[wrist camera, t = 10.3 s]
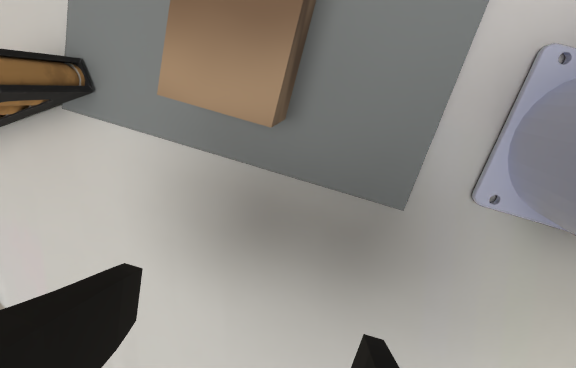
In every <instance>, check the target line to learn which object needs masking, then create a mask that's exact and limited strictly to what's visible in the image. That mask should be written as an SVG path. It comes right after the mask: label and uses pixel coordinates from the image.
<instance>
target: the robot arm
mask: <svg viewBox="0 0 576 368" xmlns="http://www.w3.org/2000/svg"><path fill="white" fill-rule="evenodd" d="M562 53H563V54H565V57H566V59H565V61H564V63H563V64H560V63H559V61H558V59H559V56H560V55H561V54H562ZM493 195H497V199H496V200H495V201H494V202H490V201H489V200H490V198H491V196H493ZM472 198H473V200H474V201H475V202H476V203H477V204H479V205H480V206H484V207H487V208H491V209H494V210H497V211H501V212H504V213H507V214H511V215H514V216H518V217H521V218H524V219H528V220H531V221H535V222H538V223H541V224H545V225H548V226H552V227H555V228H558V229H562V230H565V231H568V232H571V233H572V234H574V235H576V48H573V47H569V46H565V45H562V44H549V45H546V46H544V47H543V48H542V49H541V50H540V51H539V53H538V54H537V57H536V59H535V61H534V63H533V65H532V67H531V69H530V71H529V74H528V76H527V78H526V80H525V82H524V84H523V86H522V89H521V91H520V93H519V95H518V97H517V99H516V101H515V103H514V106H513V108H512V110H511V112H510V114H509V116H508V118H507V121H506V123H505V125H504V127H503V129H502V131H501V133H500V135H499V138H498V140H497V142H496V144H495V146H494V148H493V150H492V153H491V155H490V157H489V159H488V161H487V163H486V165H485V168H484V170H483V172H482V174H481V176H480V178H479V180H478V182H477V185H476V187H475V189H474V191H473V194H472ZM141 276H142V268H139V267H136V266H132V265H129V264H125V263H124V264H121V265H118V266H116V267H113V268H110V269H108V270H105V271H103V272H100V273H98V274H96V275H93V276H91V277H88V278H86V279H83V280H81V281H78V282H76V283H73V284H71V285H68V286H66V287H63V288H61V289H58V290H56V291H53V292H50V293H47V294H45V295H42V296H39V297H36V298H33V299H31V300H28V301H25V302H22V303H20V304H17V305H14V306H11V307H8V308H5V309H2V310H0V368H101V367H102V366H103V365H104V364H105V363H106V362H107V360H108V359H109V358H110V357H111V356H112V354H113V353H114V352H115V351H116V350H117V348H118V347H119V345H120V344H121V342H122V341H123V340H124V338H125V337H126V335H127V334H128V332H129V331H130V329H131V328H132V326H133V325H134V323H135V321H136V317H137V309H138V301H139V293H140V285H141ZM351 368H399V366H398V364H397V363H396V361H395V359H394V357H393V356H392V354H391V352H390V350H389V349H388V347H387V345H386V343H385V342H384V340H382V339H379V338H375V337H372V336H368V335H365V334H364V335H363V338H362V340H361V343H360V345H359V348H358V351H357V353H356V356H355V359H354V361H353V364H352V366H351Z"/></svg>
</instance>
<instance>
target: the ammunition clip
mask: <svg viewBox="0 0 576 368" xmlns="http://www.w3.org/2000/svg"><path fill="white" fill-rule="evenodd" d="M90 93H93V87H92V85H91V82H90V80H89V77H88V75H87V72H86V70H85V67H84V65H83V62H82V60H81V58H75V57H67V56H58V55H49V54H41V53H32V52H24V51H15V50H7V49H0V126H3V125H5V124H8V123H11V122H14V121H16V120H19V119H22V118H25V117H27V116H30V115H33V114H36V113H38V112H41V111H44V110H47V109H49V108H52V107H55V106H57V105H60V104H63V103H66V102H68V101H71V100H74V99H77V98H79V97H82V96H85V95H88V94H90Z"/></svg>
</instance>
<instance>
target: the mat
mask: <svg viewBox="0 0 576 368" xmlns="http://www.w3.org/2000/svg"><path fill="white" fill-rule="evenodd" d="M488 2H489V0H316V3H315V7H314V10H313V14H312V18H311V22H310V26H309V30H308V33H307V37H306V41H305V45H304V49H303V53H302V56H301V60H300V64H299V68H298V72H297V76H296V79H295V83H294V87H293V91H292V95H291V99H290V102H289V106H288V110H287V114H286V118H285V120H283V121H282V122H280V123H278V124H277V125H275V126H273V127H272V128H271V127H267V126H264V125H260V124H257V123H253V122H250V121H246V120H243V119H239V118H236V117H233V116H229V115H226V114H222V113H219V112H215V111H212V110H208V109H205V108H202V107H198V106H195V105H191V104H188V103H184V102H181V101H177V100H174V99H170V98H167V97H164V96H160V95H157V91H158V84H159V77H160V69H161V62H162V55H163V48H164V41H165V34H166V26H167V19H168V12H169V5H170V0H68V12H67V29H66V46H65V56H67V57H75V58H81V60H82V62H83V65H84V67H85V70H86V72H87V75H88V77H89V80H90V82H91V85H92V87H93V93H90V94H88V95H85V96H82V97H79V98H77V99H74V100H71V101H68V102H66V103H63V104H62V109H66V110H69V111H72V112H76V113H79V114H82V115H86V116H89V117H92V118H96V119H99V120H102V121H106V122H109V123H112V124H116V125H119V126H122V127H126V128H129V129H132V130H136V131H139V132H142V133H146V134H149V135H152V136H156V137H159V138H162V139H166V140H169V141H172V142H176V143H179V144H182V145H186V146H189V147H192V148H196V149H199V150H202V151H206V152H209V153H212V154H216V155H219V156H222V157H226V158H229V159H232V160H236V161H239V162H242V163H246V164H249V165H252V166H256V167H259V168H262V169H266V170H269V171H272V172H276V173H279V174H282V175H286V176H289V177H292V178H296V179H299V180H302V181H306V182H309V183H312V184H316V185H319V186H322V187H326V188H329V189H333V190H336V191H339V192H343V193H346V194H349V195H353V196H356V197H359V198H363V199H366V200H369V201H373V202H376V203H379V204H383V205H386V206H389V207H393V208H396V209H399V210H403V211H404V208H405V206H406V203H407V201H408V198H409V196H410V193H411V191H412V189H413V186H414V184H415V181H416V179H417V176H418V174H419V171H420V169H421V166H422V164H423V162H424V159H425V157H426V154H427V152H428V149H429V147H430V144H431V142H432V139H433V137H434V135H435V132H436V130H437V127H438V125H439V122H440V120H441V117H442V115H443V112H444V110H445V108H446V105H447V103H448V100H449V98H450V95H451V93H452V90H453V88H454V85H455V83H456V81H457V78H458V76H459V73H460V71H461V68H462V66H463V63H464V61H465V58H466V56H467V54H468V51H469V49H470V46H471V44H472V41H473V39H474V36H475V34H476V31H477V29H478V27H479V24H480V22H481V19H482V17H483V14H484V12H485V9H486V7H487V4H488Z"/></svg>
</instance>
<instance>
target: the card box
mask: <svg viewBox="0 0 576 368" xmlns="http://www.w3.org/2000/svg"><path fill="white" fill-rule="evenodd" d="M315 3H316V0H170V5H169V12H168V19H167V26H166V34H165V41H164V48H163V55H162V62H161V69H160V77H159V84H158V91H157V95H160V96H164V97H167V98H170V99H174V100H177V101H181V102H184V103H188V104H191V105H195V106H198V107H202V108H205V109H208V110H212V111H215V112H219V113H222V114H226V115H229V116H233V117H236V118H239V119H243V120H246V121H250V122H253V123H257V124H260V125H264V126H267V127H271V128H272V127H273V126H275V125H277V124H278V123H280V122H282V121H283V120H285V118H286V114H287V110H288V106H289V102H290V99H291V95H292V91H293V87H294V83H295V79H296V76H297V72H298V68H299V64H300V60H301V56H302V53H303V49H304V45H305V41H306V37H307V33H308V30H309V26H310V22H311V18H312V14H313V10H314V7H315Z"/></svg>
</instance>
